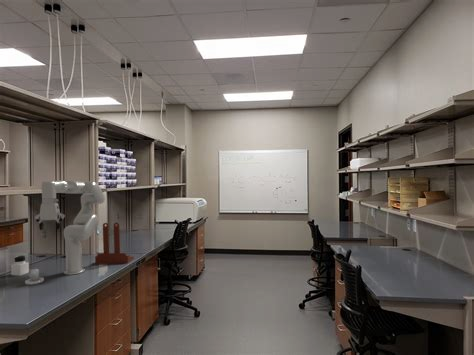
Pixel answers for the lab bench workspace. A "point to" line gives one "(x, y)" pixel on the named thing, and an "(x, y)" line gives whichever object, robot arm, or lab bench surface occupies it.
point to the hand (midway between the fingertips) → (50, 229)
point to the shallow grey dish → (34, 281)
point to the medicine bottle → (19, 266)
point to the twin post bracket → (116, 256)
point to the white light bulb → (34, 274)
